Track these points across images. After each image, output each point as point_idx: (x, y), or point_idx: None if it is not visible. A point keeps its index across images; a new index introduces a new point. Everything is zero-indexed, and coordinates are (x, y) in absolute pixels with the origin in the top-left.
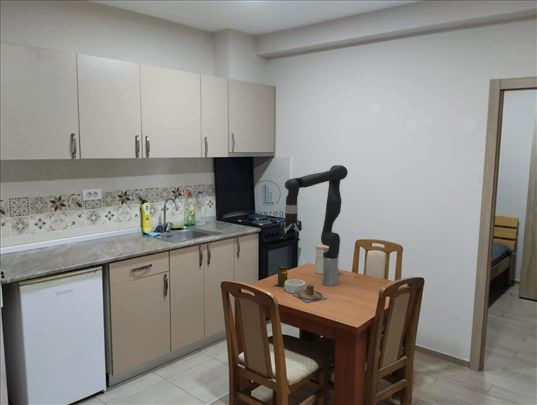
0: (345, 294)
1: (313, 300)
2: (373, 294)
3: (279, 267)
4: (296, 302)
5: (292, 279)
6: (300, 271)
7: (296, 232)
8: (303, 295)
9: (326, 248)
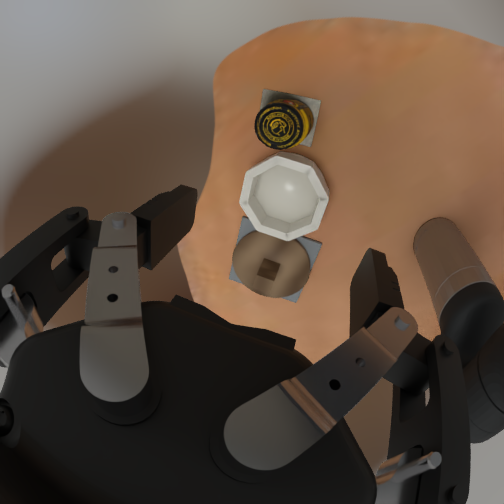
0: None
1: None
2: None
3: (258, 117)
4: (211, 255)
5: (305, 168)
6: (493, 76)
7: (360, 321)
8: (244, 259)
9: None
